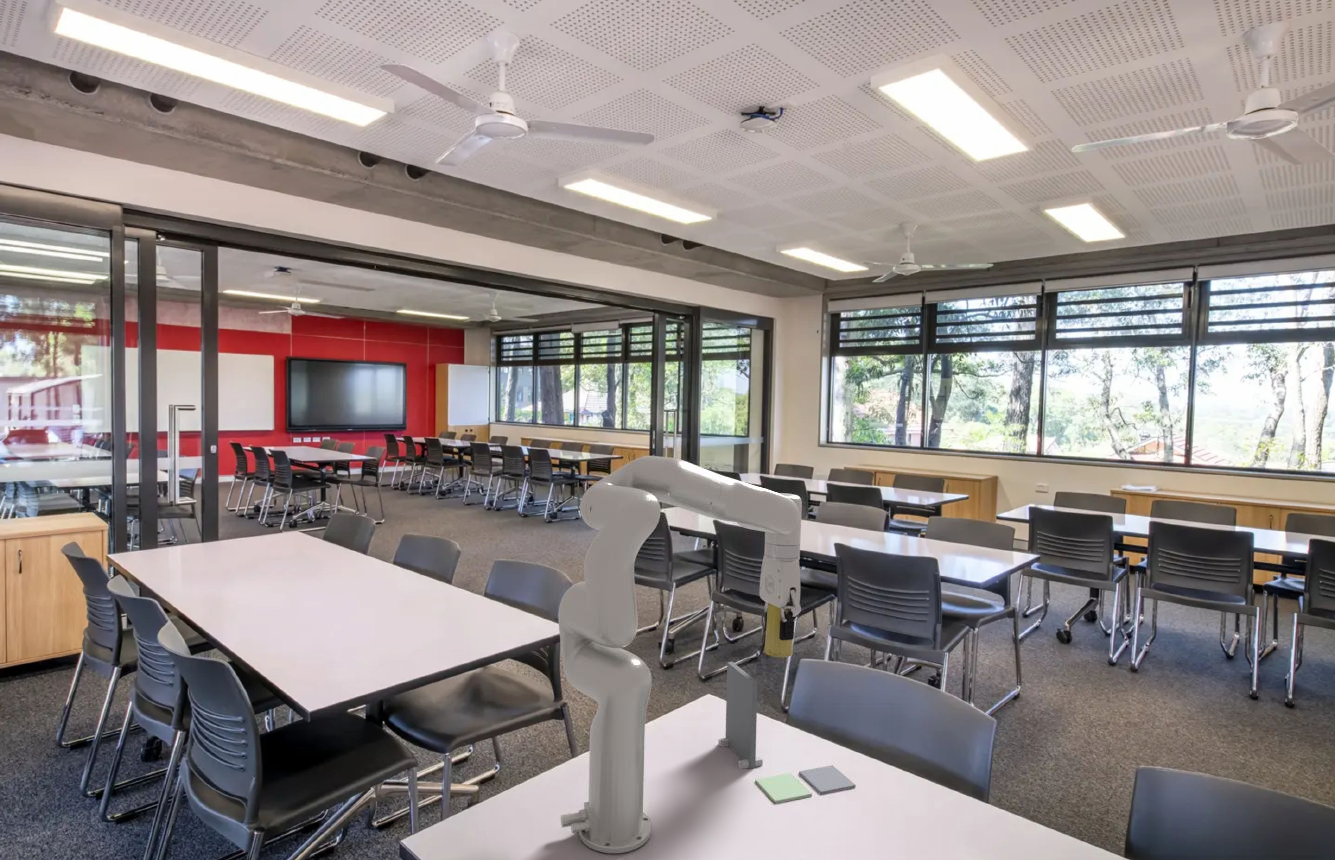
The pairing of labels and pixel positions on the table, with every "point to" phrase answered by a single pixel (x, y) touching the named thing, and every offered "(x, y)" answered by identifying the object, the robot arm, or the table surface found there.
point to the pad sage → (783, 788)
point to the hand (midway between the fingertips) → (778, 634)
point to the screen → (741, 716)
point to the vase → (776, 634)
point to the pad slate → (827, 779)
